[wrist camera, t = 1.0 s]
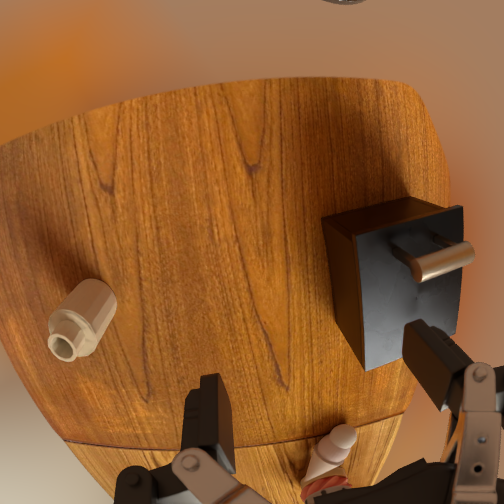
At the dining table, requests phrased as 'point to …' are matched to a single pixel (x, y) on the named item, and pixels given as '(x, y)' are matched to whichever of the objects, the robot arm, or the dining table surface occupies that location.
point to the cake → (324, 484)
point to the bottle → (81, 320)
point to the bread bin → (343, 257)
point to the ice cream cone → (331, 450)
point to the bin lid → (408, 279)
